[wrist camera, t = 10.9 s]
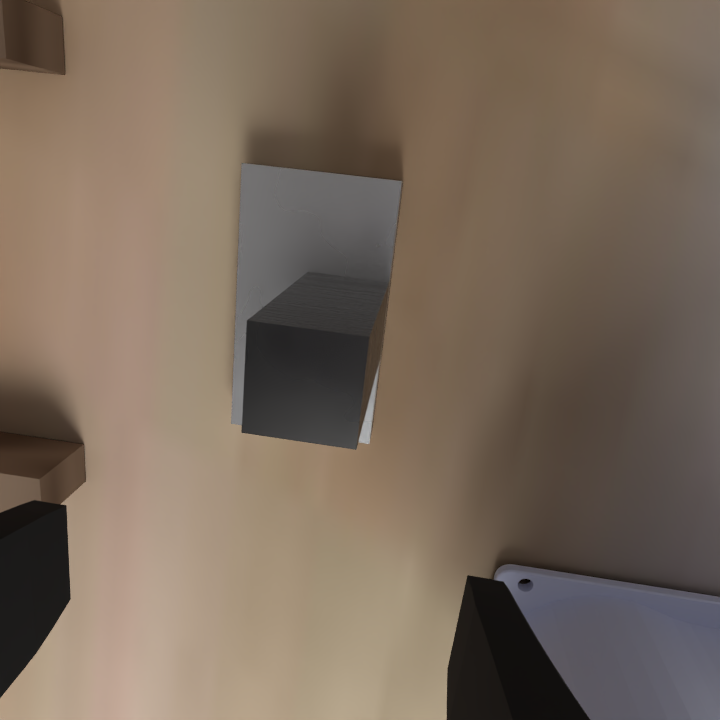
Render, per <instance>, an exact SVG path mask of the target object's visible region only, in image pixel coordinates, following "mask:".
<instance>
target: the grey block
mask: <svg viewBox="0 0 720 720" xmlns="http://www.w3.org/2000/svg"><path fill="white" fill-rule="evenodd" d="M402 187H403V181H400V180H391V179H382V178H373V177H365V176H356V175H347V174H338V173H329V172H321V171H312V170H303V169H294V168H285V167H276V166H268V165H259V164H249V163H242V170H241V194H240V219H239V244H238V269H237V293H236V318H235V343H234V368H233V393H232V417H231V424H238V425H242V433H248V434H255V435H261V436H268V437H275V438H281V439H288V440H295V441H302V442H308V443H315V444H322V445H329V446H335V447H342V448H349V449H357V445H358V442H360V443H367V444H369V443H370V438H371V434H372V428H373V420H374V412H375V404H376V396H377V388H378V380H379V372H380V364H381V356H382V348H383V340H384V332H385V324H386V316H387V308H388V300H389V292H390V284H391V276H392V268H393V259H394V251H395V243H396V235H397V227H398V219H399V211H400V203H401V195H402Z"/></svg>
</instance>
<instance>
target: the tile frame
mask: <svg viewBox="0 0 720 720" xmlns="http://www.w3.org/2000/svg"><path fill="white" fill-rule="evenodd" d="M0 68H3V69H13V70H23V71H32V72H42V73H52V74H61V75H65V62H64V42H63V22H62V16H59V15H57V14H55V13H52V12H50V11H48V10H45V9H43V8H41V7H39V6H36V5H34V4H32V3H29V2H27V1H25V0H0ZM85 481H86V478H85V458H84V444H78V443H71V442H65V441H58V440H51V439H45V438H38V437H31V436H25V435H18V434H11V433H5V432H0V513H1V512H3V511H6V510H8V509H11V508H13V507H16V506H18V505H21V504H24V503H27V502H30V501H33V500H37V501H43V502H49V503H55V504H61V503H62V502H63V501H64V500H65V499H67V498H68V497H69V496H70V495H71V494H72V493H73V492H74V491H75V490H77V489H78V488H79V487H80V486H81V485H82V484H83V483H84V482H85Z"/></svg>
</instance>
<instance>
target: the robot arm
mask: <svg viewBox="0 0 720 720" xmlns="http://www.w3.org/2000/svg"><path fill="white" fill-rule="evenodd" d="M522 579H529V580H530V582H529V583H527V584H521V583H518V582H519V581H520V580H522ZM69 601H70V577H69V555H68V533H67V511H66V505H60V504H55V503H49V502H43V501H37V500H33V501H30V502H27V503H24V504H21V505H18V506H16V507H13V508H11V509H8V510H6V511H3V512H1V513H0V698H1V696H2V695H3V694H4V693H5V691H6V690H7V689H8V688H9V686H10V685H11V684H12V683H13V681H14V680H15V679H16V678H17V677H18V675H19V674H20V673H21V672H22V670H23V669H24V668H25V667H26V665H27V664H28V663H29V662H30V660H31V659H32V658H33V656H34V655H35V654H36V653H37V651H38V650H39V648H40V647H41V645H42V644H43V642H44V640H45V639H46V637H47V636H48V634H49V633H50V631H51V630H52V628H53V627H54V625H55V623H56V622H57V620H58V619H59V617H60V615H61V614H62V612H63V610H64V609H65V607H66V605H67V604H68V602H69ZM447 720H720V597H718V596H711V595H705V594H698V593H692V592H686V591H679V590H673V589H667V588H660V587H654V586H647V585H641V584H635V583H628V582H622V581H616V580H609V579H603V578H596V577H590V576H584V575H577V574H571V573H565V572H558V571H552V570H546V569H539V568H533V567H526V566H520V565H514V564H506V565H503V566H501V567H499V568H498V569H497V570H496V573H495V576H494V580H492V579H486V578H480V577H474V576H469V575H468V576H467V581H466V585H465V590H464V595H463V599H462V604H461V609H460V613H459V618H458V623H457V627H456V632H455V637H454V642H453V646H452V651H451V656H450V660H449V665H448V676H447Z"/></svg>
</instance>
